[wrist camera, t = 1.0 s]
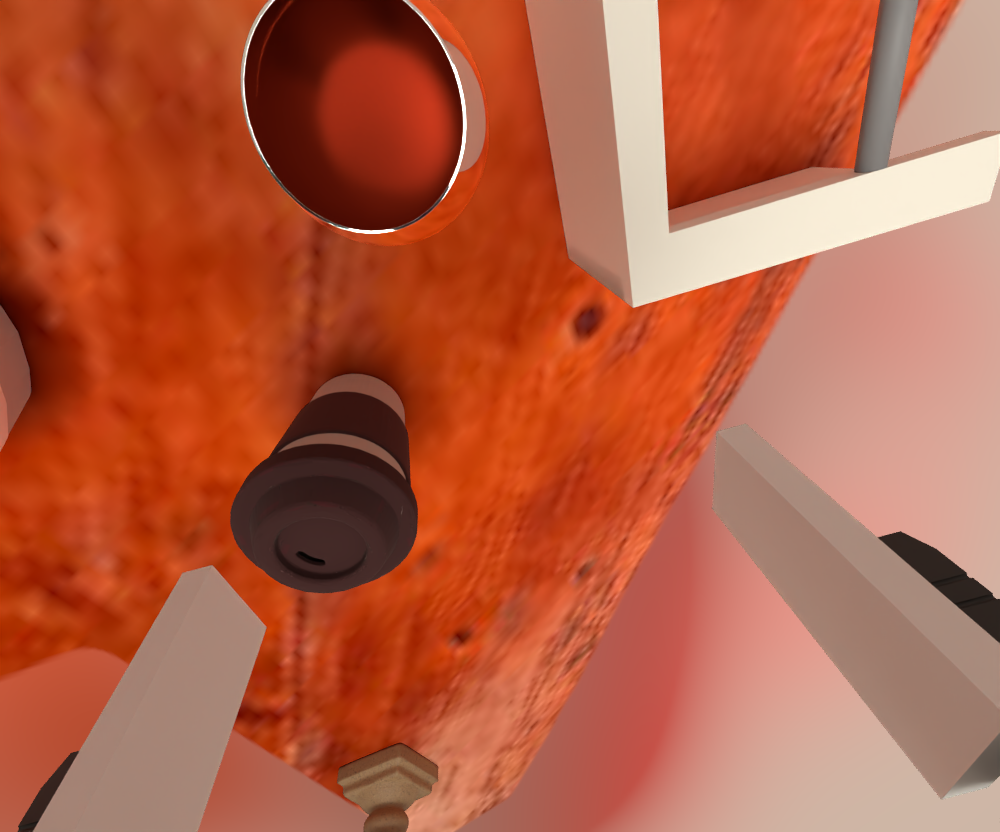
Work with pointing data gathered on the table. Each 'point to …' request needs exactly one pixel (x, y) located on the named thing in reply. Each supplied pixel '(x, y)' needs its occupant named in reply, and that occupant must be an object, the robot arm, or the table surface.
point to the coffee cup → (332, 492)
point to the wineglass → (366, 114)
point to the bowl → (11, 376)
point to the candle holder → (388, 785)
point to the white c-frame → (737, 214)
